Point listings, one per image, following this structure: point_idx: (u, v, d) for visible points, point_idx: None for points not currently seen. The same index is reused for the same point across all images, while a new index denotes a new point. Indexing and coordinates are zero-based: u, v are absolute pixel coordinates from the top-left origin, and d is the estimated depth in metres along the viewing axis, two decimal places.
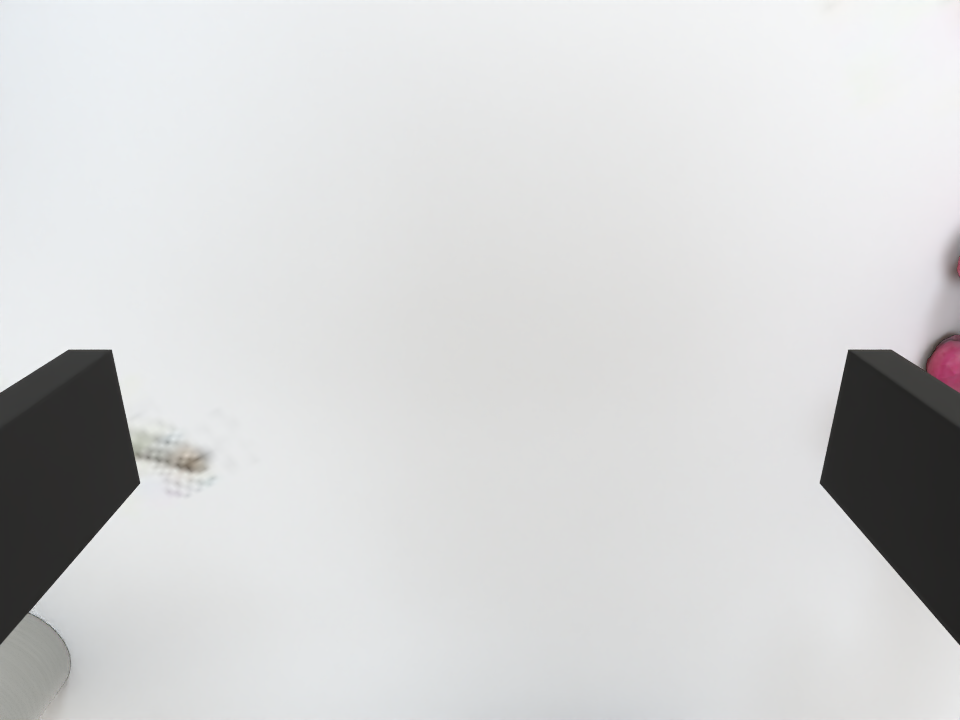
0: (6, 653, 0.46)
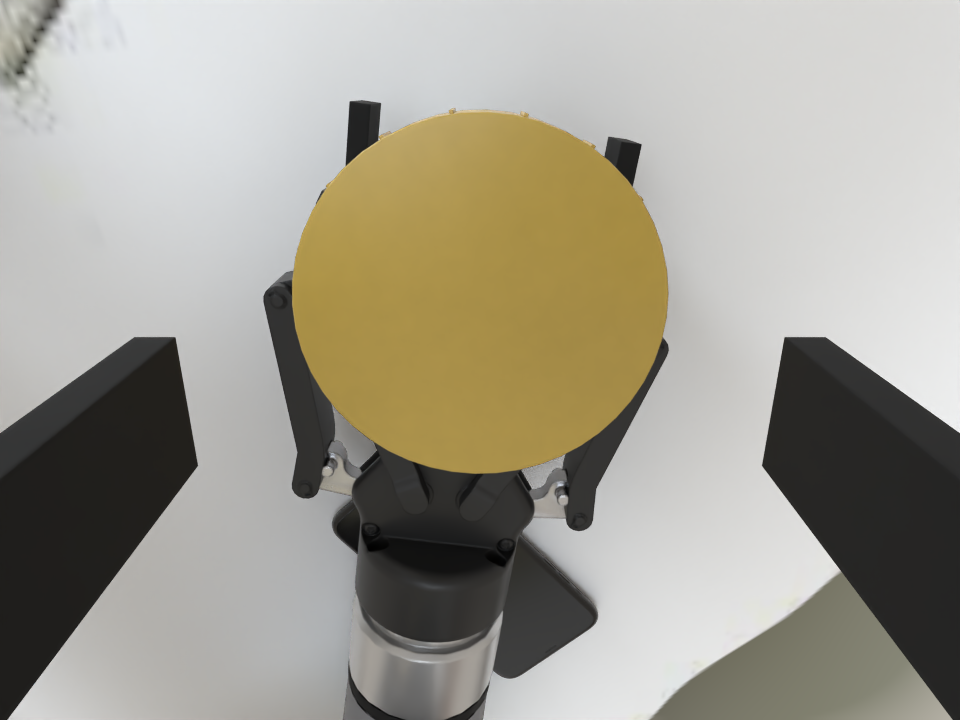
0: None
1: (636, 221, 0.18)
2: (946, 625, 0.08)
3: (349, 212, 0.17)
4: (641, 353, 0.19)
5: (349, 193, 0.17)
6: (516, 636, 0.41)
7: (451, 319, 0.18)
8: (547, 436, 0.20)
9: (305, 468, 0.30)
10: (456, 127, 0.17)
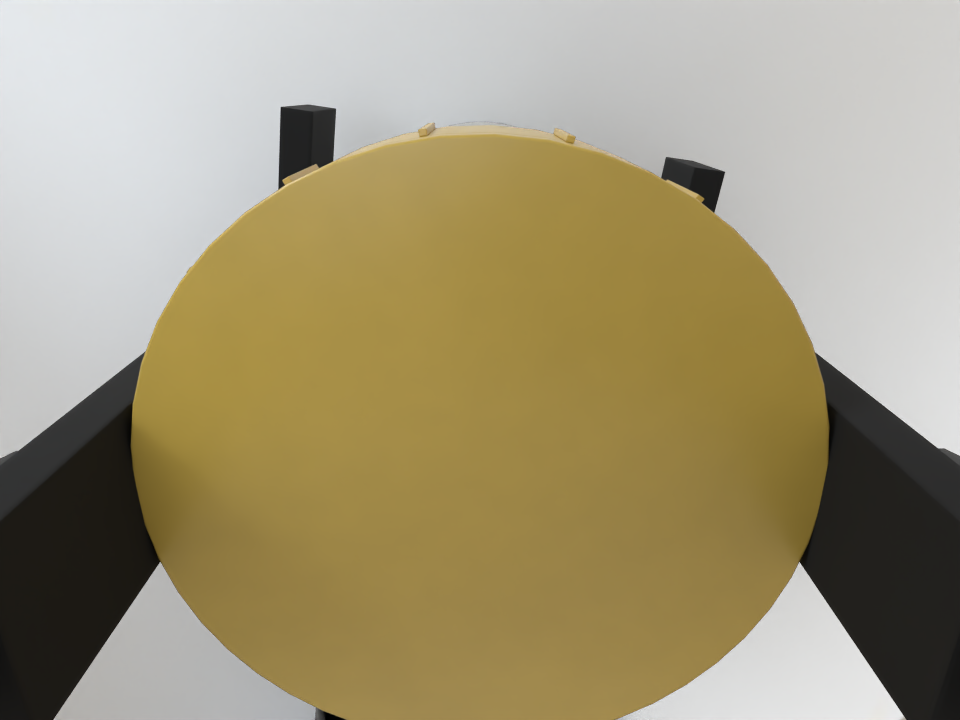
0: None
1: (779, 341, 0.09)
2: (885, 604, 0.08)
3: (227, 325, 0.09)
4: (770, 563, 0.10)
5: (225, 290, 0.09)
6: None
7: (428, 508, 0.10)
8: (596, 690, 0.11)
9: None
10: (432, 164, 0.08)
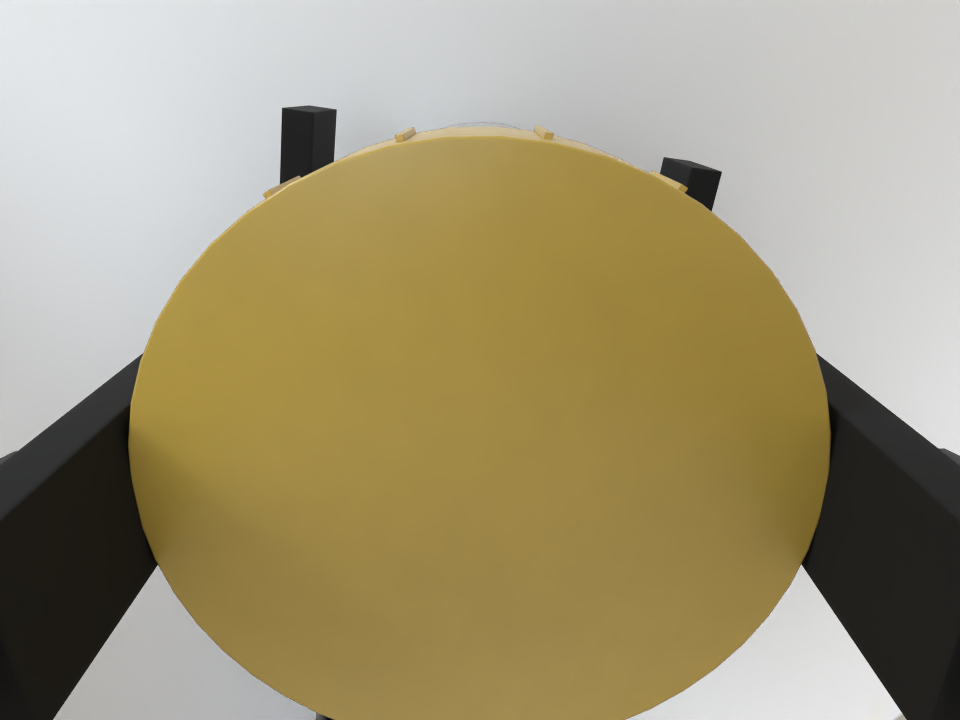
0: None
1: (427, 171, 0.08)
2: (885, 605, 0.08)
3: (240, 610, 0.11)
4: (706, 255, 0.09)
5: (212, 598, 0.11)
6: None
7: (473, 544, 0.10)
8: (774, 481, 0.10)
9: None
10: (152, 418, 0.09)
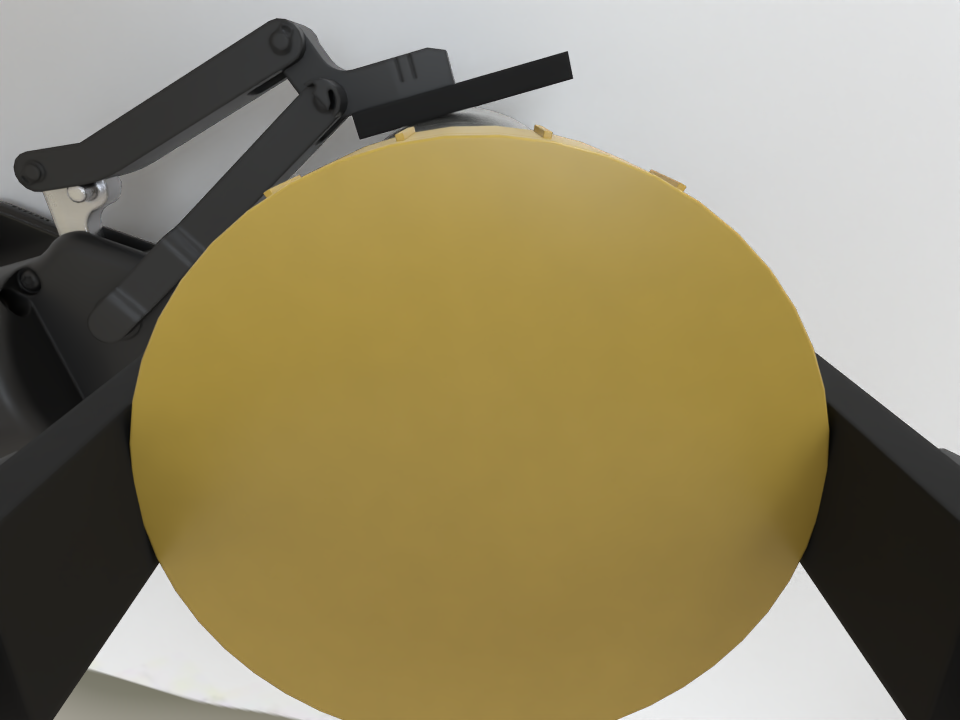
0: None
1: (427, 170, 0.08)
2: (884, 604, 0.08)
3: (241, 607, 0.11)
4: (705, 253, 0.09)
5: (213, 596, 0.11)
6: None
7: (472, 541, 0.10)
8: (773, 478, 0.10)
9: (62, 162, 0.21)
10: (153, 416, 0.10)
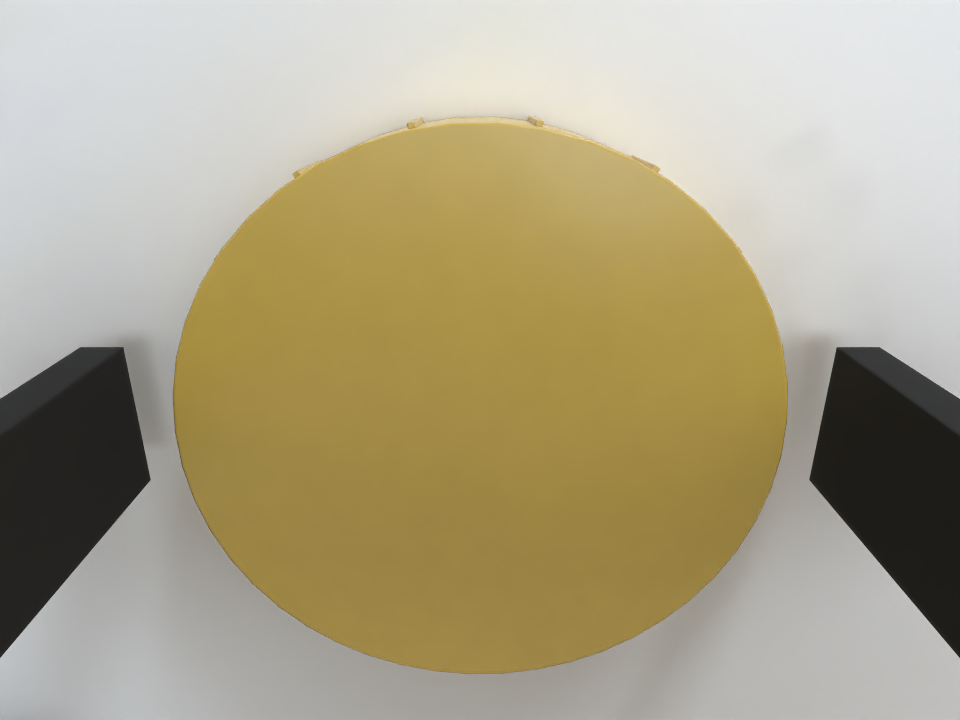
0: None
1: (435, 153, 0.10)
2: None
3: (269, 545, 0.12)
4: (676, 226, 0.10)
5: (243, 535, 0.12)
6: None
7: (474, 484, 0.12)
8: (739, 427, 0.11)
9: None
10: (194, 371, 0.11)
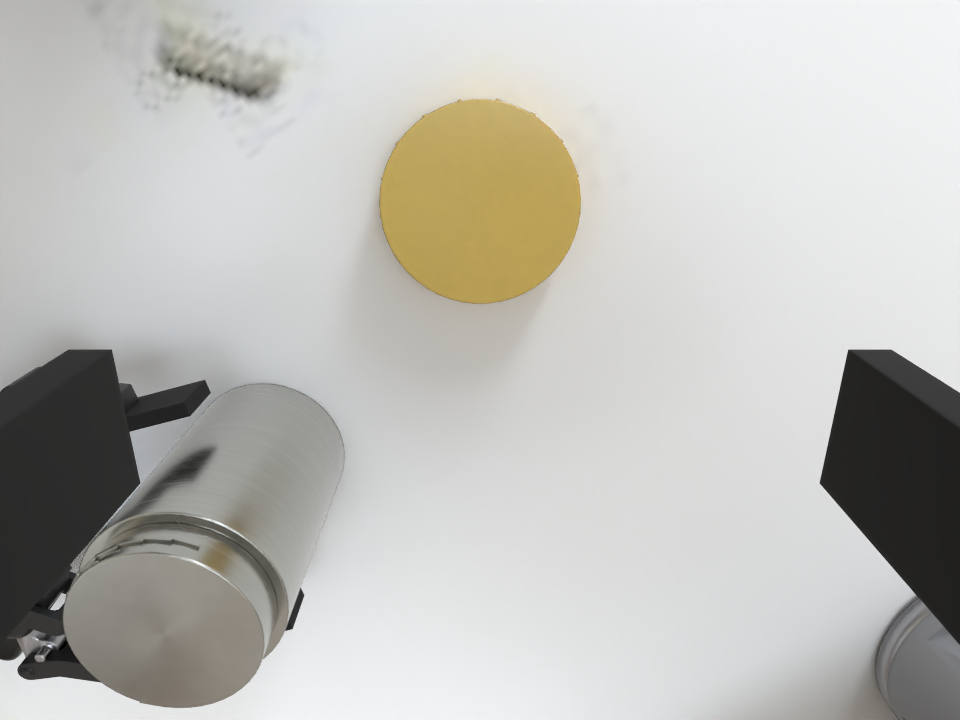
0: (299, 426, 0.38)
1: (466, 109, 0.33)
2: None
3: (407, 247, 0.35)
4: (539, 131, 0.33)
5: (398, 243, 0.35)
6: None
7: (478, 222, 0.35)
8: (565, 201, 0.34)
9: None
10: (388, 180, 0.34)
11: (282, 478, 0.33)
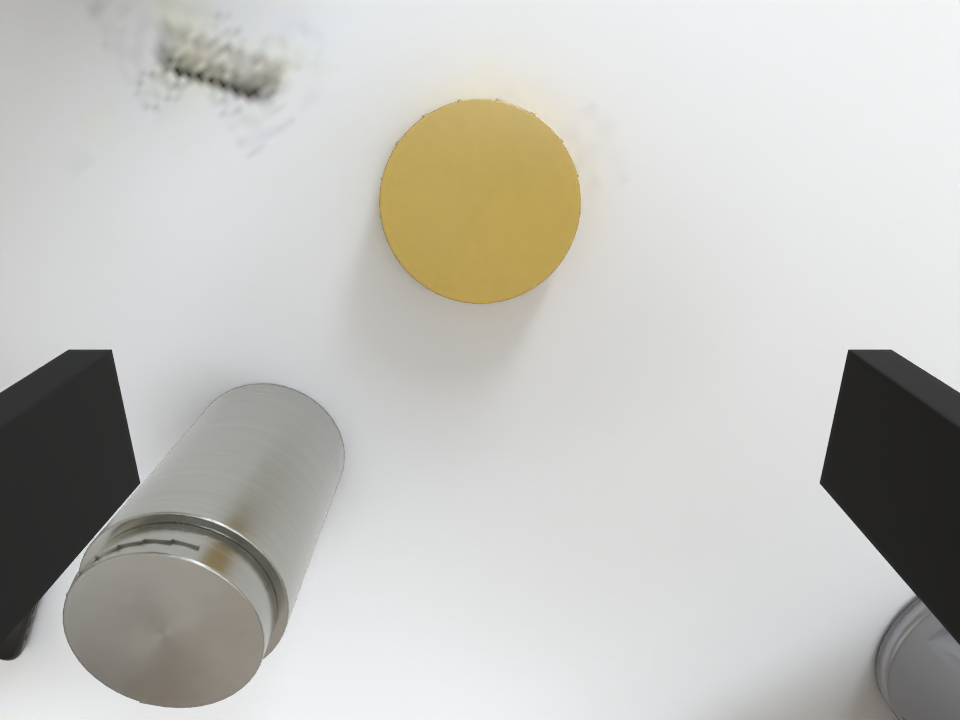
0: (299, 426, 0.38)
1: (466, 109, 0.33)
2: None
3: (407, 247, 0.35)
4: (539, 131, 0.33)
5: (398, 243, 0.35)
6: None
7: (478, 222, 0.35)
8: (565, 201, 0.34)
9: None
10: (388, 180, 0.34)
11: (282, 478, 0.33)
